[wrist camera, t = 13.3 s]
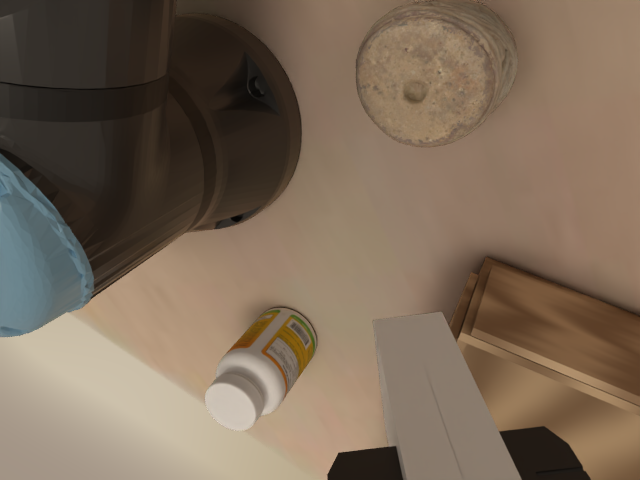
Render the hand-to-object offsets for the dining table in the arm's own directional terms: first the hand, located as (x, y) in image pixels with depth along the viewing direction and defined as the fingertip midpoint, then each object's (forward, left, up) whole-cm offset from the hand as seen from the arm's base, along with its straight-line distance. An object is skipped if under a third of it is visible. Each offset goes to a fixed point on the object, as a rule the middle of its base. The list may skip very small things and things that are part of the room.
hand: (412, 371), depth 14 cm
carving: (-5, +2, -28) cm, 28 cm away
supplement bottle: (-11, -23, -28) cm, 37 cm away
